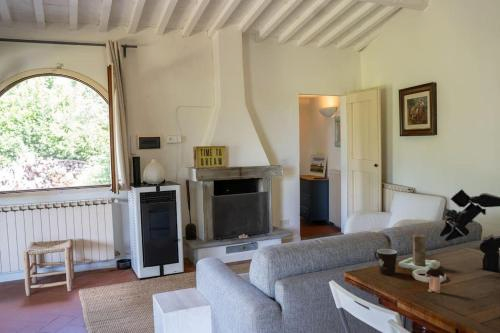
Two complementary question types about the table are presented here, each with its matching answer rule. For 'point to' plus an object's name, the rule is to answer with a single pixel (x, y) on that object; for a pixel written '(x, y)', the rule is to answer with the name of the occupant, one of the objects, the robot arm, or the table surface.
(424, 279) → the ring dish
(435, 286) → the grandmother figurine
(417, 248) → the walnut post
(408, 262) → the tray
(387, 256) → the coffee mug
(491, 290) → the table surface
